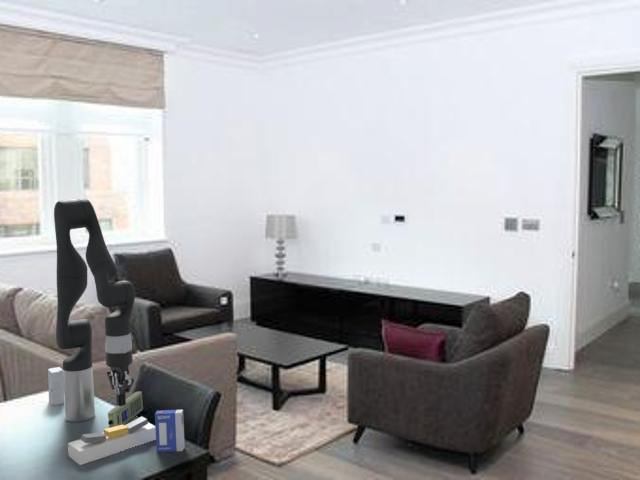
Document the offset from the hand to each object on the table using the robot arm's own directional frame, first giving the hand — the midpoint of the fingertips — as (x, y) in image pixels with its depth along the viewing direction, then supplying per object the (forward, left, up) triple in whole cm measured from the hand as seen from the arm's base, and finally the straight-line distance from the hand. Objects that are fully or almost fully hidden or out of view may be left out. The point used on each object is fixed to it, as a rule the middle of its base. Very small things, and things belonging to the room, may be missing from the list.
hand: (121, 405), depth 187 cm
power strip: (-1, -2, -13) cm, 13 cm away
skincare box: (-52, +1, -13) cm, 54 cm away
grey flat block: (0, -9, -9) cm, 13 cm away
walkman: (+12, +9, -13) cm, 20 cm away
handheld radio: (-17, +8, -13) cm, 23 cm away
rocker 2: (0, +5, -9) cm, 10 cm away
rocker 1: (0, -2, -9) cm, 9 cm away
